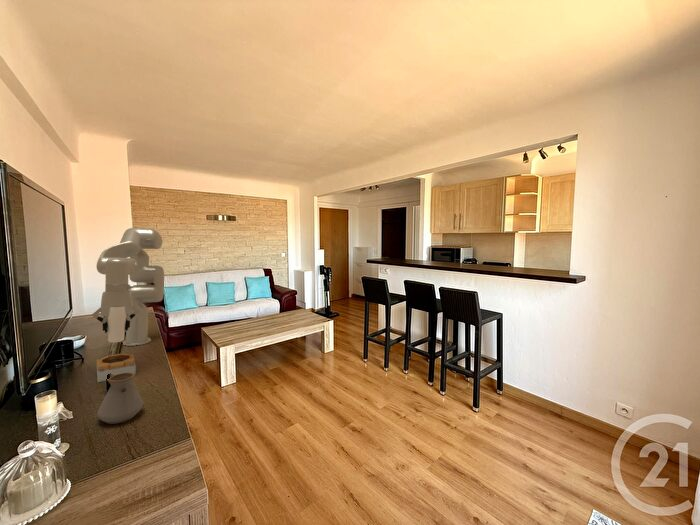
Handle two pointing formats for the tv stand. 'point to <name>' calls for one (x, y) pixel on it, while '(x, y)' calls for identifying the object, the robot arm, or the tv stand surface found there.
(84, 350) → the tv stand surface
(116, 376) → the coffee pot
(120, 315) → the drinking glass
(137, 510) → the tv stand surface
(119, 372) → the octagon ring knob plate
